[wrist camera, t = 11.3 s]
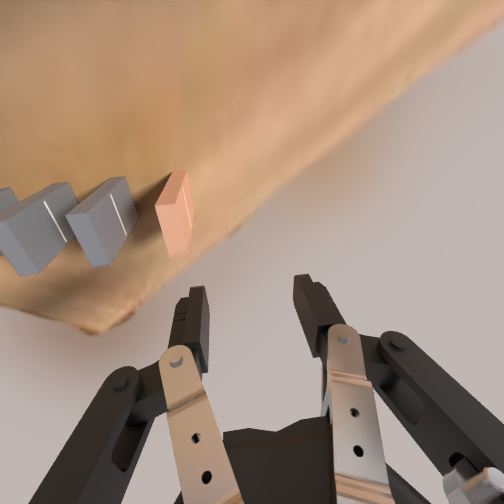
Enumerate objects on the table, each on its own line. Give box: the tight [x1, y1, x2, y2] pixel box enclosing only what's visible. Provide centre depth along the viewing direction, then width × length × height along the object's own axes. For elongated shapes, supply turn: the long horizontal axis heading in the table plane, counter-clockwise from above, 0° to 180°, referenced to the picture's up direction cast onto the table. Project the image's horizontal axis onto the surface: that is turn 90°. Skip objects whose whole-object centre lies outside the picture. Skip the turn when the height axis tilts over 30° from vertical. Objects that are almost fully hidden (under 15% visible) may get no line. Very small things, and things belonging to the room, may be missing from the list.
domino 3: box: [155, 171, 195, 258], centre depth 25 cm, size 2×5×10 cm, turn 3°
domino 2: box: [65, 177, 139, 267], centre depth 25 cm, size 2×5×10 cm, turn 4°
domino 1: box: [0, 182, 79, 276], centre depth 24 cm, size 2×5×10 cm, turn 3°
